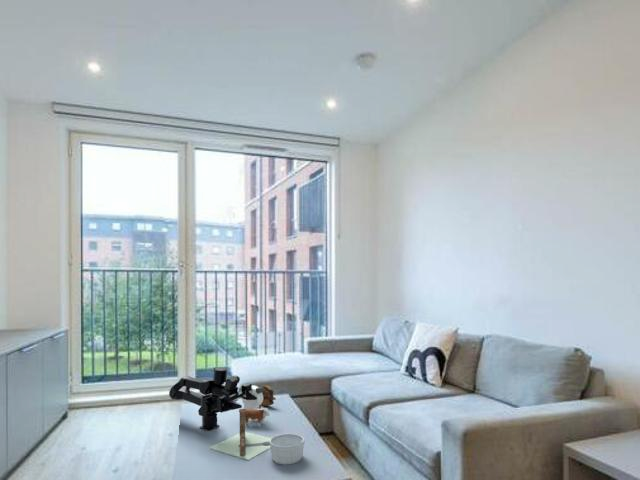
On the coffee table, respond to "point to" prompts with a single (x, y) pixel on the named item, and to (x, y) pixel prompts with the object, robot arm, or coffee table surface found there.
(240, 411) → the fence swing panel
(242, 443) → the fence fixed panel
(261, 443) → the card
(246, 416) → the bull figurine
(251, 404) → the white rounded piece
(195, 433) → the coffee table surface
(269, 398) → the wooden carving
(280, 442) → the ramekin
